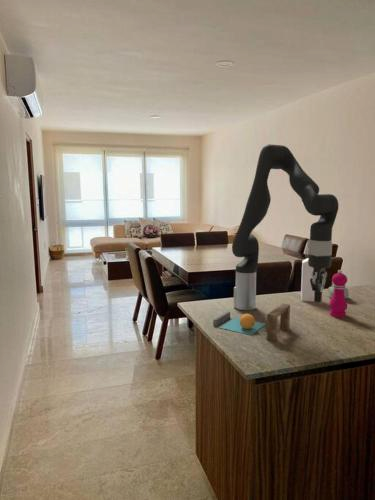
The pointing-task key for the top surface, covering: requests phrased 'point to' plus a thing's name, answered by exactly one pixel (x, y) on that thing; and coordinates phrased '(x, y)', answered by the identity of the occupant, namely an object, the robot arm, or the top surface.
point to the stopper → (221, 318)
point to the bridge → (272, 319)
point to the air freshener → (331, 291)
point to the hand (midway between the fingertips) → (317, 301)
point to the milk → (306, 282)
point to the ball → (247, 321)
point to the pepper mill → (338, 295)
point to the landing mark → (236, 327)
